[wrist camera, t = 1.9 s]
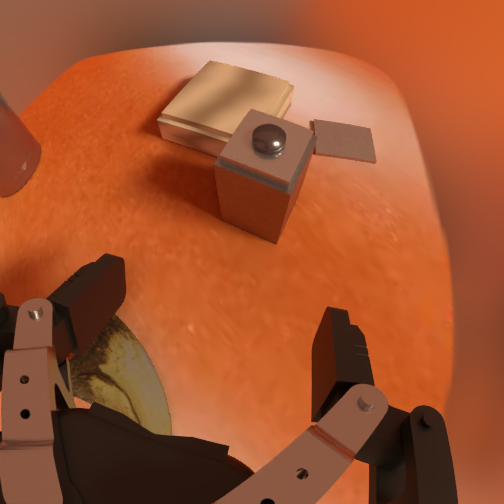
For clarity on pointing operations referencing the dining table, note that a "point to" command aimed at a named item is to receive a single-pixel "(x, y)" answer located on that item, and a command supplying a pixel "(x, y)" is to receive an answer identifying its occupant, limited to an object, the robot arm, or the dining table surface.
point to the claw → (121, 378)
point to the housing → (262, 173)
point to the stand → (221, 105)
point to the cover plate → (344, 141)
